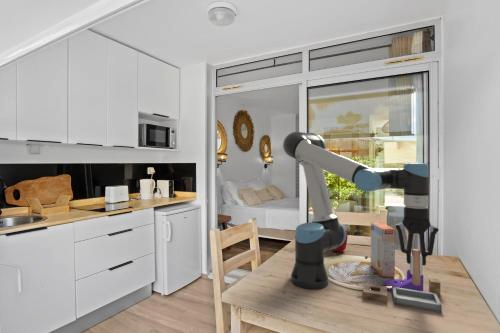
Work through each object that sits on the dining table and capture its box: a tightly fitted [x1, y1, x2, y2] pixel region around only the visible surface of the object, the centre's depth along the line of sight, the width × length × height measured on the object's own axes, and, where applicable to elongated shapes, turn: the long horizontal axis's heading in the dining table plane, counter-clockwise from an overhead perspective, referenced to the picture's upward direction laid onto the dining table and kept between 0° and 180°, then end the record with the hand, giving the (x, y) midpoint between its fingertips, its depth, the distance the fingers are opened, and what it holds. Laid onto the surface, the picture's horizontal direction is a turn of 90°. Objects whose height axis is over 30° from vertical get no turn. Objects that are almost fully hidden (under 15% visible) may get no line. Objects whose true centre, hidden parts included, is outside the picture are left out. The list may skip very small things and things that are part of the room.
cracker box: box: [370, 222, 396, 278], centre depth 128 cm, size 14×6×21 cm, turn 175°
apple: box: [331, 229, 349, 253], centre depth 157 cm, size 11×10×14 cm
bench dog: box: [428, 277, 441, 297], centre depth 107 cm, size 3×4×5 cm
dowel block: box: [362, 282, 389, 304], centre depth 105 cm, size 8×8×2 cm
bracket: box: [382, 269, 424, 293], centre depth 111 cm, size 12×7×7 cm, turn 95°
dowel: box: [411, 248, 421, 286], centre depth 100 cm, size 3×3×12 cm
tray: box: [391, 287, 443, 313], centre depth 100 cm, size 14×9×2 cm, turn 66°
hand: (416, 273), depth 100 cm, fingers closed on dowel, 2 cm apart
